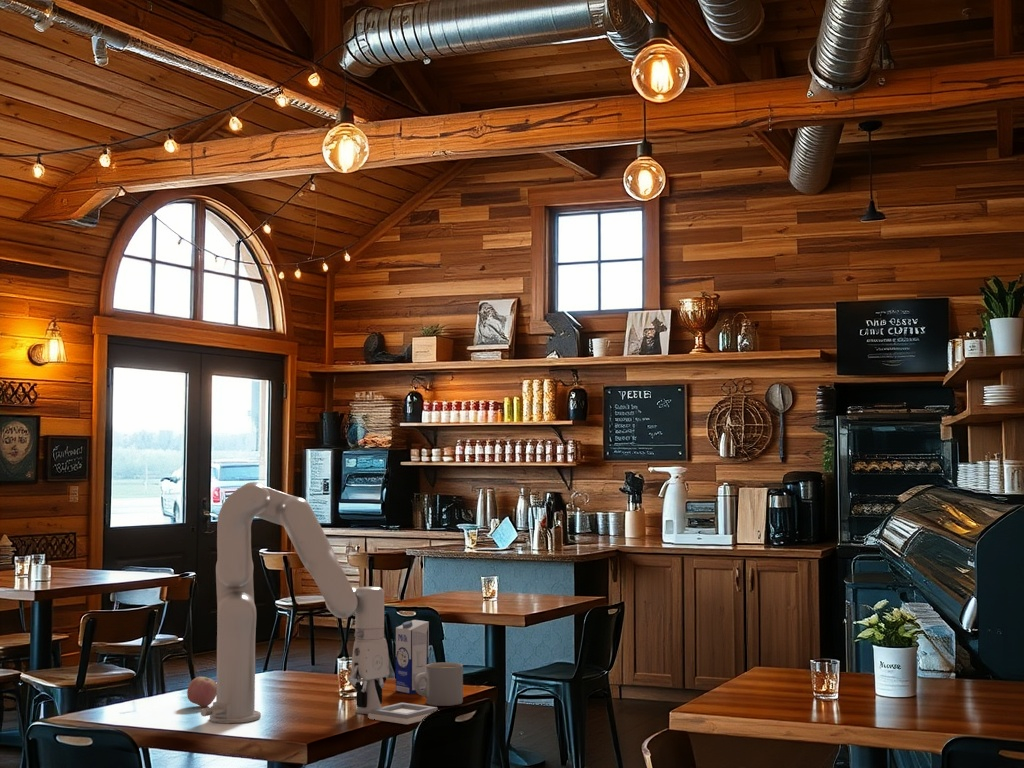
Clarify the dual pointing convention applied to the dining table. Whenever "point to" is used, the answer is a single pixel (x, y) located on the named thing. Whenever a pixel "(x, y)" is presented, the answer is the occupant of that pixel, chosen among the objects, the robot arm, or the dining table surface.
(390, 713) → the socket board
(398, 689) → the milk carton
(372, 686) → the flask
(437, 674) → the coffee mug
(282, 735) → the dining table surface
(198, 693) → the apple
